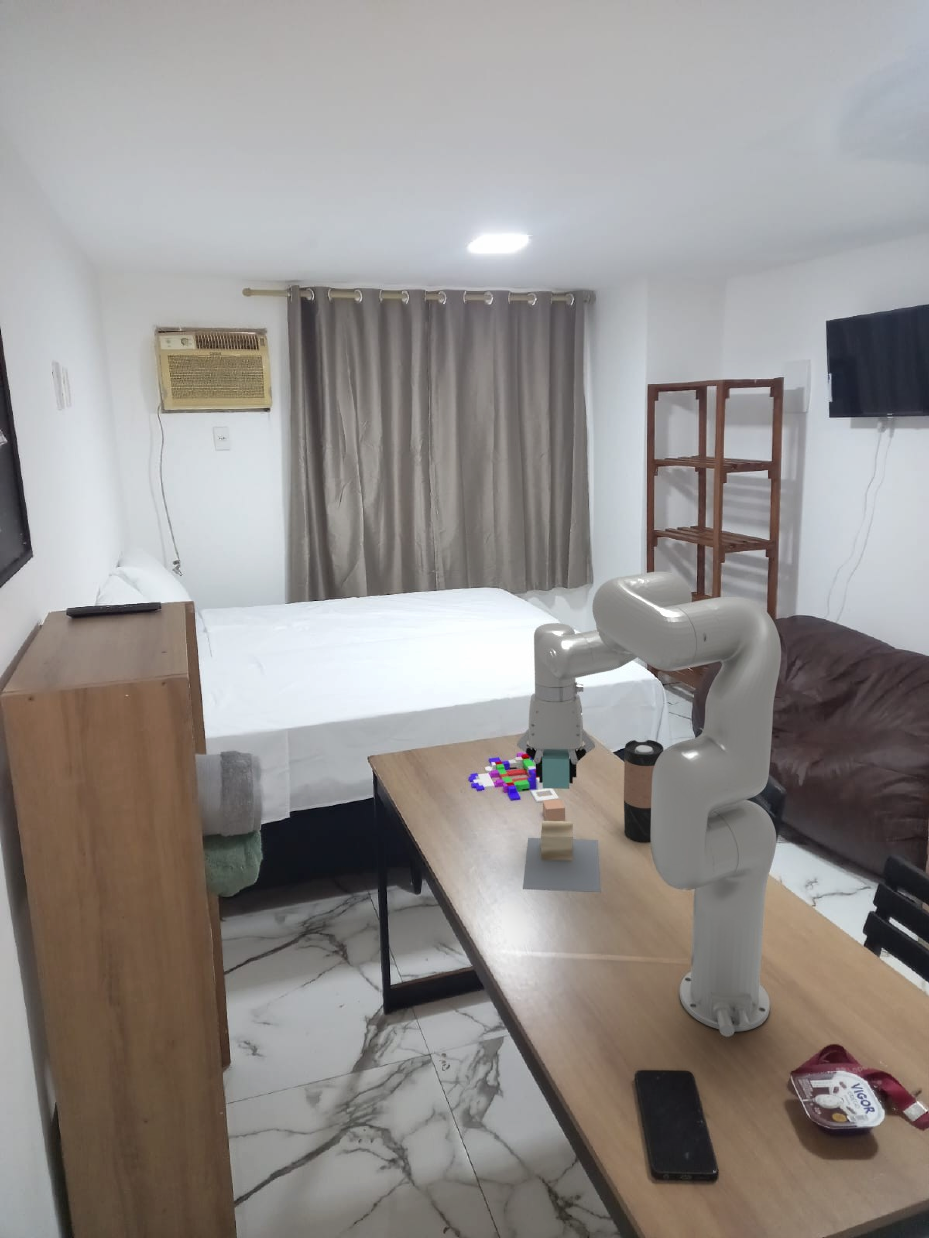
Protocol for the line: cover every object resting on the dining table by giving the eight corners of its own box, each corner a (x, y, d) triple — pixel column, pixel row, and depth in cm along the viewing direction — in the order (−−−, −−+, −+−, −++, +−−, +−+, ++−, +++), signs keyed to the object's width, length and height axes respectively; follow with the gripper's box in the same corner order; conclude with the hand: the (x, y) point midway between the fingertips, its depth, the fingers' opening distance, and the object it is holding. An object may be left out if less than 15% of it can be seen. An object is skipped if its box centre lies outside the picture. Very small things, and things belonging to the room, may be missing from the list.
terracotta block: (543, 817, 174) (546, 826, 170) (542, 800, 173) (546, 809, 169) (561, 815, 174) (565, 824, 170) (561, 798, 173) (565, 807, 169)
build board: (600, 896, 145) (600, 891, 145) (522, 893, 147) (522, 888, 147) (598, 844, 162) (598, 839, 162) (528, 842, 164) (528, 837, 164)
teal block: (569, 788, 152) (569, 759, 150) (542, 788, 152) (542, 758, 151) (569, 776, 157) (569, 748, 155) (543, 776, 157) (543, 747, 156)
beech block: (572, 860, 155) (572, 837, 154) (541, 859, 156) (541, 836, 154) (572, 844, 161) (572, 821, 159) (542, 843, 161) (542, 820, 160)
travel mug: (646, 852, 159) (648, 758, 154) (615, 838, 164) (616, 746, 159) (669, 837, 163) (672, 746, 158) (638, 824, 169) (640, 735, 164)
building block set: (461, 765, 202) (460, 749, 201) (540, 756, 205) (540, 739, 204) (482, 812, 178) (481, 794, 177) (571, 800, 181) (571, 782, 180)
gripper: (601, 683, 152) (600, 772, 157) (510, 683, 154) (513, 770, 159) (602, 697, 145) (602, 790, 150) (507, 697, 147) (510, 788, 152)
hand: (556, 779), depth 154 cm, fingers closed on teal block, 5 cm apart
